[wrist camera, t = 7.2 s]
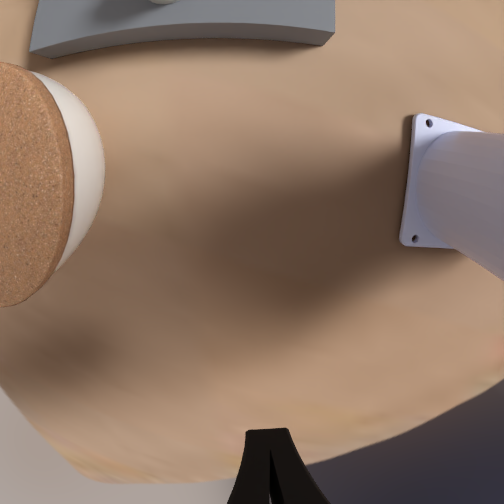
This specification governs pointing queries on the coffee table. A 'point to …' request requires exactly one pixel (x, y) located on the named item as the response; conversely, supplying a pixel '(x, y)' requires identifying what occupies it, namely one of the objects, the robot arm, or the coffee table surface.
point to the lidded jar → (43, 179)
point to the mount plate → (175, 22)
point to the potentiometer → (163, 1)
